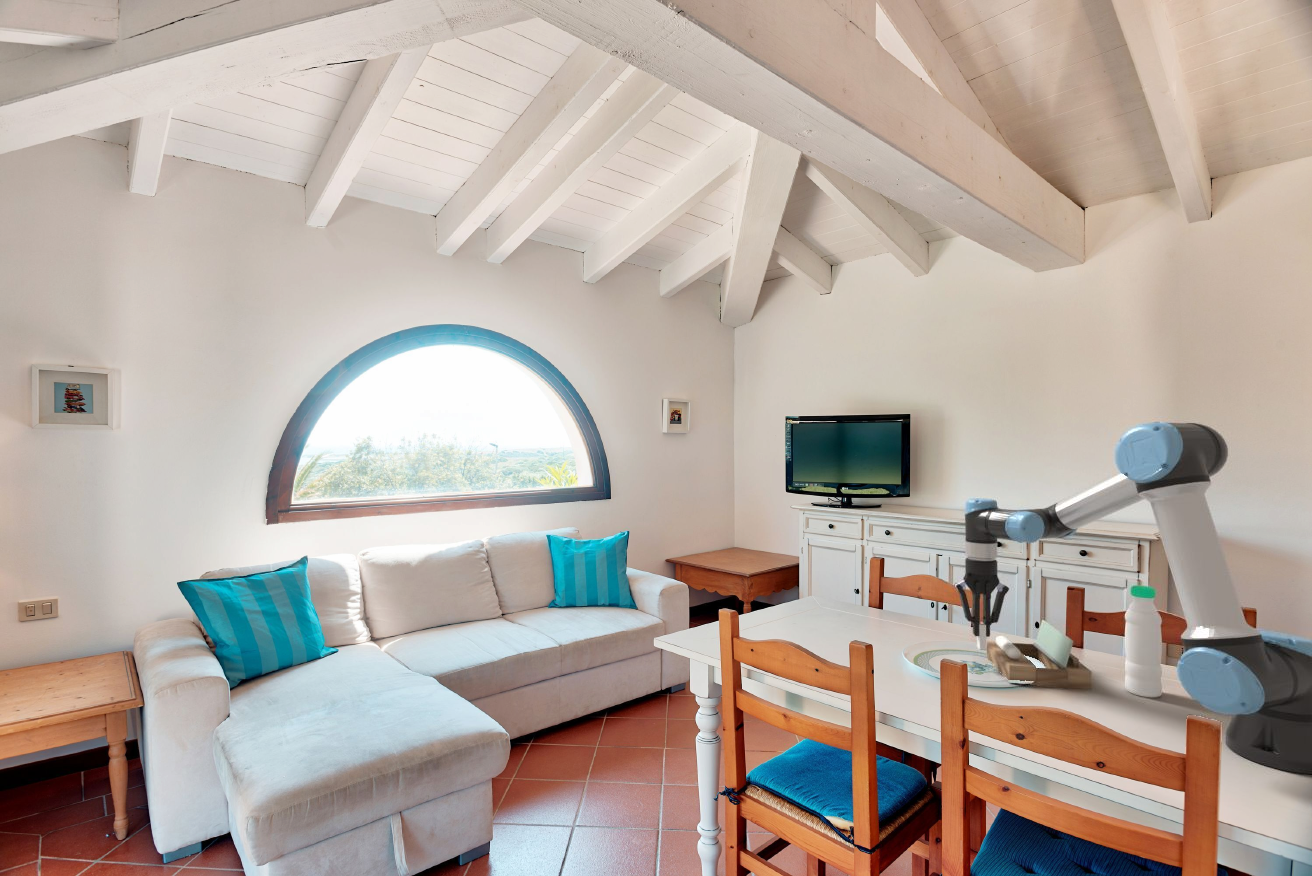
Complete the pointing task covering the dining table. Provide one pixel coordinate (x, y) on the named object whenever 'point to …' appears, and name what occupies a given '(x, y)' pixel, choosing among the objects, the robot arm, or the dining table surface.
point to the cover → (1053, 644)
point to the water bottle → (1143, 644)
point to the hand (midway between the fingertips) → (981, 648)
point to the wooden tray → (1045, 677)
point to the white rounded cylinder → (1008, 647)
